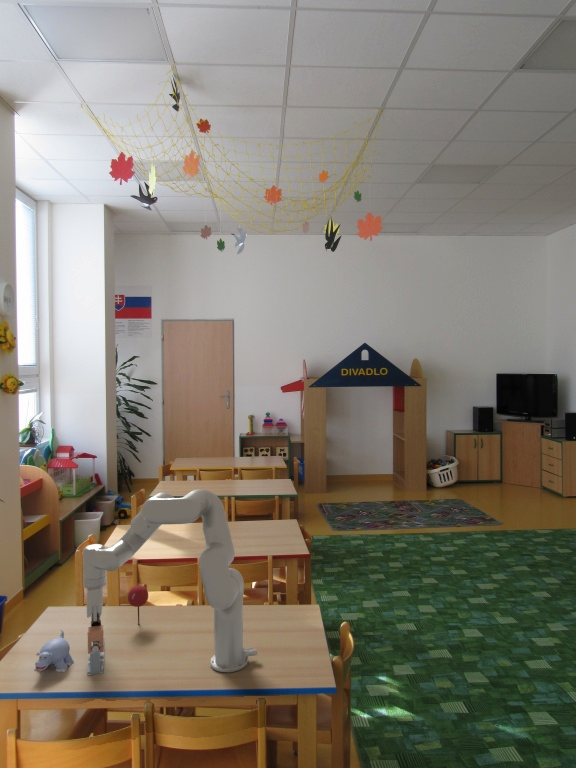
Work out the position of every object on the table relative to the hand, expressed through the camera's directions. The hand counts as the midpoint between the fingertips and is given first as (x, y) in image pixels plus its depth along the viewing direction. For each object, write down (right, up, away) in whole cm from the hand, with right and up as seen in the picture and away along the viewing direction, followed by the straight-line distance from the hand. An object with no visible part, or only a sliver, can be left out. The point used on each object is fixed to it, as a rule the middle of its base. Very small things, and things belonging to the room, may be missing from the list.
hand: (96, 632), depth 206 cm
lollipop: (+9, -6, +22) cm, 25 cm away
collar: (+1, -4, -4) cm, 6 cm away
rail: (+1, -7, -2) cm, 8 cm away
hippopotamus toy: (-12, -8, -10) cm, 17 cm away
